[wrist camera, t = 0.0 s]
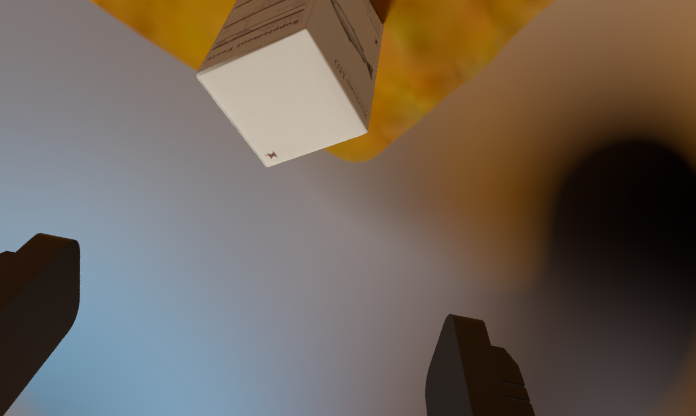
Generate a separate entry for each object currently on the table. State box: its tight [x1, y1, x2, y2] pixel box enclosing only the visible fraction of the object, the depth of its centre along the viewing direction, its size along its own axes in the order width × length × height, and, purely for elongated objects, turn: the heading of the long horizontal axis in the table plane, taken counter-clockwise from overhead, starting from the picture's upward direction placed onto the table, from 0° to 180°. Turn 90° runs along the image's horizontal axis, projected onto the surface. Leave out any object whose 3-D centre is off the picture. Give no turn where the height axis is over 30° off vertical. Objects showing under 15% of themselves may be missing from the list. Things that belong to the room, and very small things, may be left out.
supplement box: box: [196, 0, 383, 167], centre depth 37 cm, size 7×7×13 cm
